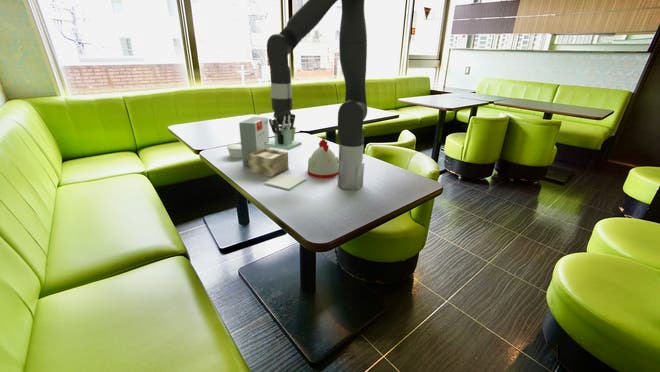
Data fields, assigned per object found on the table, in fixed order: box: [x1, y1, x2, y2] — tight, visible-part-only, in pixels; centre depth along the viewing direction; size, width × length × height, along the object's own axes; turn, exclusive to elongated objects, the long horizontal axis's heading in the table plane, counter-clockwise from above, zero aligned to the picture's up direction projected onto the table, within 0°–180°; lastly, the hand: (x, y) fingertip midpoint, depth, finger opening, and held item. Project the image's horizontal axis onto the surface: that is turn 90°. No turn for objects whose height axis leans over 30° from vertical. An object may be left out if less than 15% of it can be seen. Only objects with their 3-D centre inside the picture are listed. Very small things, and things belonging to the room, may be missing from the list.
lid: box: [266, 128, 302, 151], centre depth 114 cm, size 11×9×6 cm
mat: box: [263, 172, 307, 191], centre depth 121 cm, size 12×12×1 cm
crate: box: [248, 148, 289, 178], centre depth 131 cm, size 13×11×8 cm
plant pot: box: [292, 126, 297, 141], centre depth 172 cm, size 9×9×9 cm
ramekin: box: [227, 142, 242, 159], centre depth 150 cm, size 11×11×5 cm
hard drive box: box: [238, 116, 271, 167], centre depth 140 cm, size 16×8×20 cm, turn 168°
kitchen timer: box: [307, 138, 339, 180], centre depth 129 cm, size 14×14×15 cm
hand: (283, 142), depth 115 cm, fingers closed on lid, 3 cm apart
